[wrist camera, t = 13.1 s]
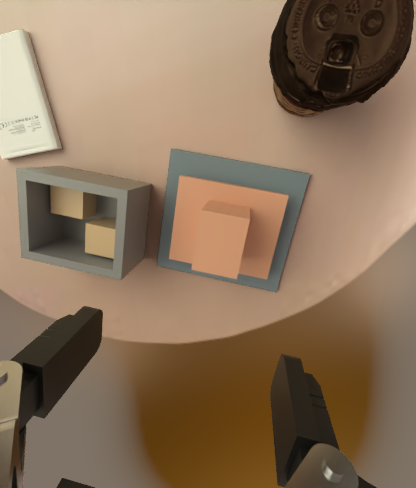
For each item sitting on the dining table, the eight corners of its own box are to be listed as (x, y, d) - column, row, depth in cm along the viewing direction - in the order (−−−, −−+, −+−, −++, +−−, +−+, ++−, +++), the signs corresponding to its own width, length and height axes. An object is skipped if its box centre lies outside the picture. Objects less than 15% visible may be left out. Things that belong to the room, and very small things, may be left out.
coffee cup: (293, 146, 30) (323, 140, 18) (245, 84, 29) (241, 32, 17) (366, 85, 27) (459, 27, 15) (315, 14, 26) (374, -110, 14)
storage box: (60, 166, 35) (16, 168, 28) (151, 183, 34) (127, 190, 27) (61, 239, 38) (21, 257, 31) (144, 258, 37) (121, 280, 30)
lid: (184, 174, 32) (163, 179, 24) (285, 192, 31) (298, 205, 23) (174, 252, 36) (152, 279, 28) (265, 271, 34) (270, 305, 27)
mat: (171, 148, 32) (170, 148, 32) (309, 174, 31) (310, 174, 30) (157, 264, 37) (156, 265, 36) (275, 290, 36) (276, 292, 35)
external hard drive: (32, 34, 31) (65, 148, 34) (-27, 51, 33) (10, 159, 36) (21, 28, 29) (56, 148, 33) (-41, 46, 31) (-1, 159, 34)
